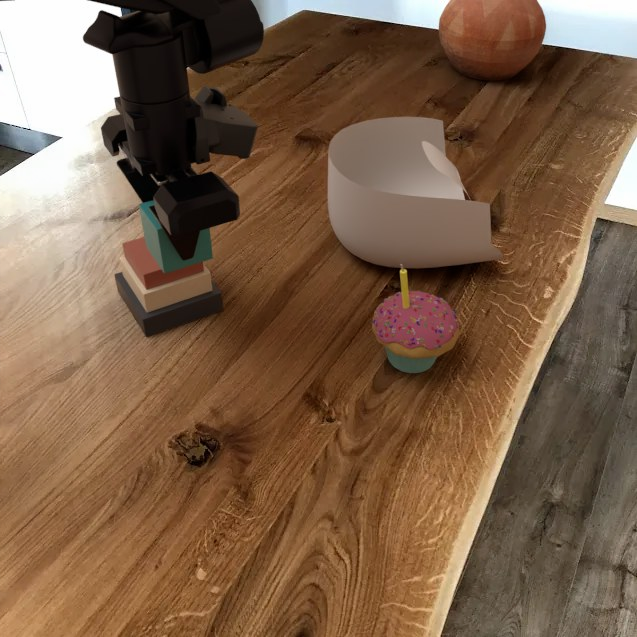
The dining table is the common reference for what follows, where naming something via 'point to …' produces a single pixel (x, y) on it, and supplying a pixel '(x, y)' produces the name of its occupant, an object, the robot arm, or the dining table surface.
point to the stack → (164, 290)
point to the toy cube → (164, 248)
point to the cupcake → (414, 328)
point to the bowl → (403, 197)
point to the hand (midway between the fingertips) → (177, 244)
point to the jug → (491, 36)
